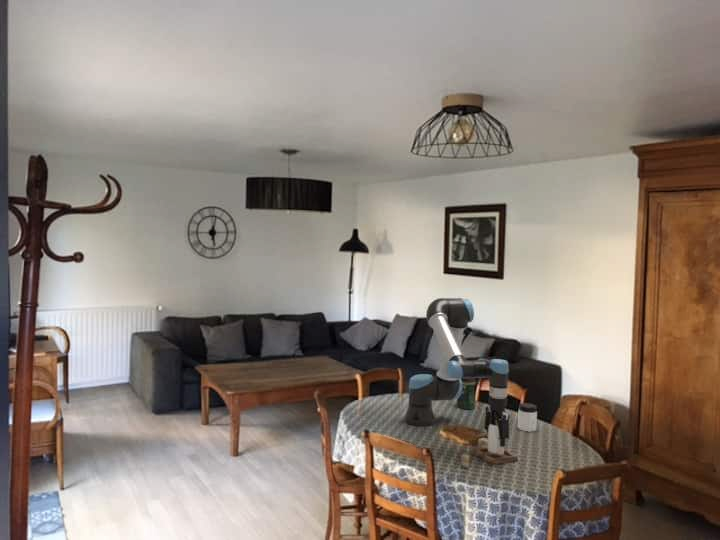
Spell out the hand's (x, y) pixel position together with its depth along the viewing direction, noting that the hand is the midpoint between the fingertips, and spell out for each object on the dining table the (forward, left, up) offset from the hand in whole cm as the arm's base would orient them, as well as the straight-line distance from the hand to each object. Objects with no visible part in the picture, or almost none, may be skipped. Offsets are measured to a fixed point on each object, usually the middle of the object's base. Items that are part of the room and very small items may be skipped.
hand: (495, 450), depth 238 cm
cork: (+4, -18, -3) cm, 19 cm away
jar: (-28, +39, -3) cm, 48 cm away
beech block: (-11, +2, -3) cm, 11 cm away
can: (0, 0, -1) cm, 1 cm away
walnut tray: (0, 0, -3) cm, 3 cm away
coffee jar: (-70, +31, -3) cm, 76 cm away
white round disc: (-19, +12, -3) cm, 22 cm away
